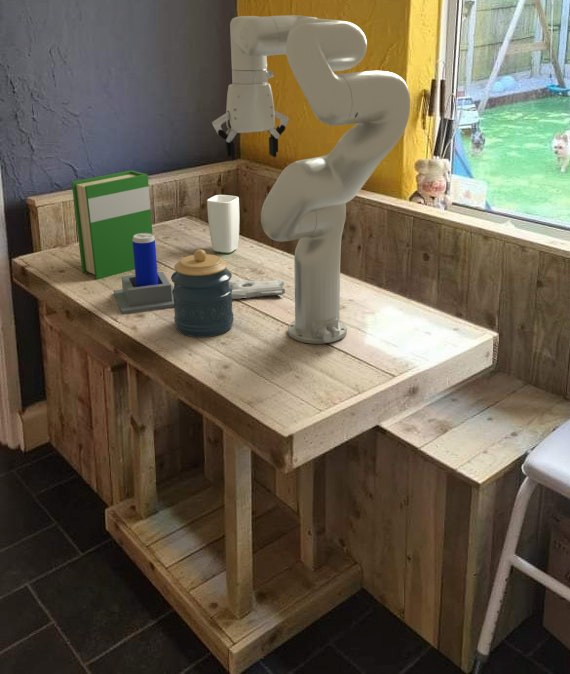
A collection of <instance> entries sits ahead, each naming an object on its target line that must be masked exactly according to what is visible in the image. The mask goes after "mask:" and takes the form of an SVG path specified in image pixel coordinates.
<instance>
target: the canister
mask: <svg viewBox="0 0 570 674" xmlns="http://www.w3.org/2000/svg"><path fill="white" fill-rule="evenodd" d="M173 268H174V270H175V272H173V273H172V275H171V277H170V280H171V281H172V282H173V288H174V289H173V291H172V294H173V299H174V307H173V309H174V310H173V311H174V312H173V313H174V317H173V320H174V321H173V323H174V325H175V329H176V331H178V333H180V334H183V335H185V336H187V337H188V336H189V337H195V338H196V337H197V338H207V337H215V336H219V335H222V334H224V333H226V332H228V331H229V330H231V329H232V327H233V324H234V312H233V299H232V287H231V286H230V282H229V280H230V279H232V276H233V275H232V271H230V270H229V269H227V268H228V262H227V261H225V260H224V259H222V258H220V257H219V256H217V255H215V254H208V253H206V251H205V250H204V249H200V248H199V249H197V250H195V252H194V254H192V255H188V256H185V257H183V258H181V259H180V260H178V262H177V263H175V264H174V267H173Z"/></svg>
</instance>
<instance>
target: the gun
mask: <svg viewBox="0 0 570 674" xmlns="http://www.w3.org/2000/svg"><path fill="white" fill-rule="evenodd" d="M229 282H230V286H231V287H232V300H242V299H241V298H246V299H252V298H251V297H253V298H261V297H270V296H281V295H284V294H286V289H285V288H284V286H285V285H284V280H280V279H277V280H276V279H275V280H267V281H256V280H246V279H243V278H239V277H238V278H231V279H230V280H229Z"/></svg>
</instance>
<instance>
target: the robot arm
mask: <svg viewBox="0 0 570 674" xmlns="http://www.w3.org/2000/svg"><path fill="white" fill-rule="evenodd" d="M229 28H230V52H231V53H230V55H231V76H232V77H231V79H232V83H231V84H228V86H227V87H228V89H227V93H226V94H227V95H226V110H225V111H226V112H225V113H224V114H222V115H221V116H219V117H218V118H216V119H214V120H213V121H212V122H211V124H212V126H213V128H214V130H215V131H216V133H217V135H218V136H219V137H220V138H222V139H223V140H224V145H225V155H226V157H227V158H228V160H230V161H232V162H233V161H235V159H236V157H235V156H236V155H235V153H236V152H235V143H234V141H233V139H234V138H235V136H237V134H245V133H256V132H257V133H259V132H268V133H269V135H270V136H269V137H268V152H269V153H268V154H269V156H271V157H273V158H276V157H277V153H278V152H279V139H280V137H281V136H282V134H283V133H284V131H286V128H287V126H288V123H289V121H290V117H289V116H287V115H285V114H283V113H281V112H279V111H276V110H275V105H274V98H273V90H272V86H271V84H270V83H269V79H271V78H274V71H273V70H269V68H268V60H267V59H268V56H269V57H270V56H277V55H279V56H280V55H286V59H287V62H288V65H289V68H290V70H291V72H292V74H293V77H294V78H295V80H296V82H297V83H298V86H299V88H300V90H301V91H302V93H303V95H304V97H305V99H306V101H307V103H308V105H309V108H310V109H311V111H312V113H313V114H314V116H315V117H316V118H317V120H318V121H320V122H321V123H322V124H325V125H326V126H330V127H331V126H332V127H333V126H335V127H337V126H344V125H351V124H352V125H354V124H355V125H354V126H351V128H350V129H348V130H347V131H346V132H345V133H344V134H343V135H342V136H341V137H340V138H339V139H338V141H337V143H336V145H335V146H334V147H333V149H332V150H331V151H330V152H329V153H328V154H326V155H322V156H317V157H312V158H311V157H310V158H304V159H299V160H295V161H293V162H291V163H289V164H288V165H287V166H285V167H284V169H283V170H282V171H281V173H280V174H279V176H278V177H277V179H276V181H275V183H274V184H273V186H272V187H271V189H270V191H269V193H268V194H267V196H266V198H265V199H264V202H263V204H262V207H261V212H260V223H261V226H262V230H263V232H264V234H265V235H266V236H268V238H269V239H270V240H272V241H276V242H281V243H282V242H289V241H294V240H298V242H297V245H296V247H295V251H294V258H293V259H294V263H293V264H294V267H293V268H294V321H292V322H291V323H290V324H288V325H287V334H288V336H289V337H291V339H294V340H295V341H297V342H299V343H300V342H301V343H303V344H304V343H306V344H314V345H318V344H319V345H320V344H329V343H333V342H337V341H339V340H341V339H343V338H344V337H346V334H347V329H348V328H347V325H346V324H345V323H344V322H342V321H341V320H340V309H341V308H340V305H341V302H340V300H341V299H340V298H341V295H340V292H341V250H342V247H341V246H342V238H343V231H344V226H345V222H346V216H347V205H346V204H347V203H348V202H350V201H352V200H354V198H355V197H356V196H357V195H358V193H359V192H360V190H361V189H362V188H363V187H364V185H365V184H366V182H367V181H368V180H369V178H370V177H371V176H372V175H373V174H374V172H375V170H376V169H377V167H378V166H379V165H380V164H381V162H382V161H383V160H384V159H385V157H387V155H388V154H390V152H392V150H393V149H394V148H395V146H396V145H397V144H398V142H399V141H400V140H401V138H402V137H403V135H404V132H405V130H406V129H407V126H408V122H409V119H410V113H411V112H410V111H411V93H410V89H409V87H408V85H407V83H406V81H405V80H404V79H403V78H402V77H401V76H400V75H398V74H396V73H394V72H390V71H384V70H366V71H357V72H347V73H334V72H341V71H346V70H350V69H353V68H355V67H356V66H357V65H358V64H360V63H361V61H363V59H364V57H365V55H366V53H367V48H368V42H367V38H366V35H365V33H364V32H363V30H362V29H361V28H360V27H359V26H358V25H356V24H354V23H353V22H350V21H346V20H338V19H326V18H318V17H315V16H307V15H269V16H259V15H258V16H257V15H244V16H243V15H239V16H235V17H233V18H232V19H231V20H230V24H229ZM276 119H279V120H280V122H279V124H278V126H277V127H276ZM225 123H226V127H227V131H226V132H225V131H224V130H223V128H222V125H223V124H225ZM275 127H276V128H275Z"/></svg>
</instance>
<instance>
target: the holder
mask: <svg viewBox="0 0 570 674" xmlns="http://www.w3.org/2000/svg"><path fill="white" fill-rule="evenodd" d="M157 274H158V284H157V285H149V286H141V287H136V276H135V274H131V275H123V276H121V286H122V289H115V290H113V295H114V298H115V300H116V302H117V305H118V307H119V310H120V311H121V314H122V315H125V314H133V313H142V312H148V311H156V310H163V309H171V308H174V299H173V294H172V291H173V289H174V286H173V284H172V283H171V282H170V281H169V279H168V277H167V276H166V275H165V272H164V271H157Z"/></svg>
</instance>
